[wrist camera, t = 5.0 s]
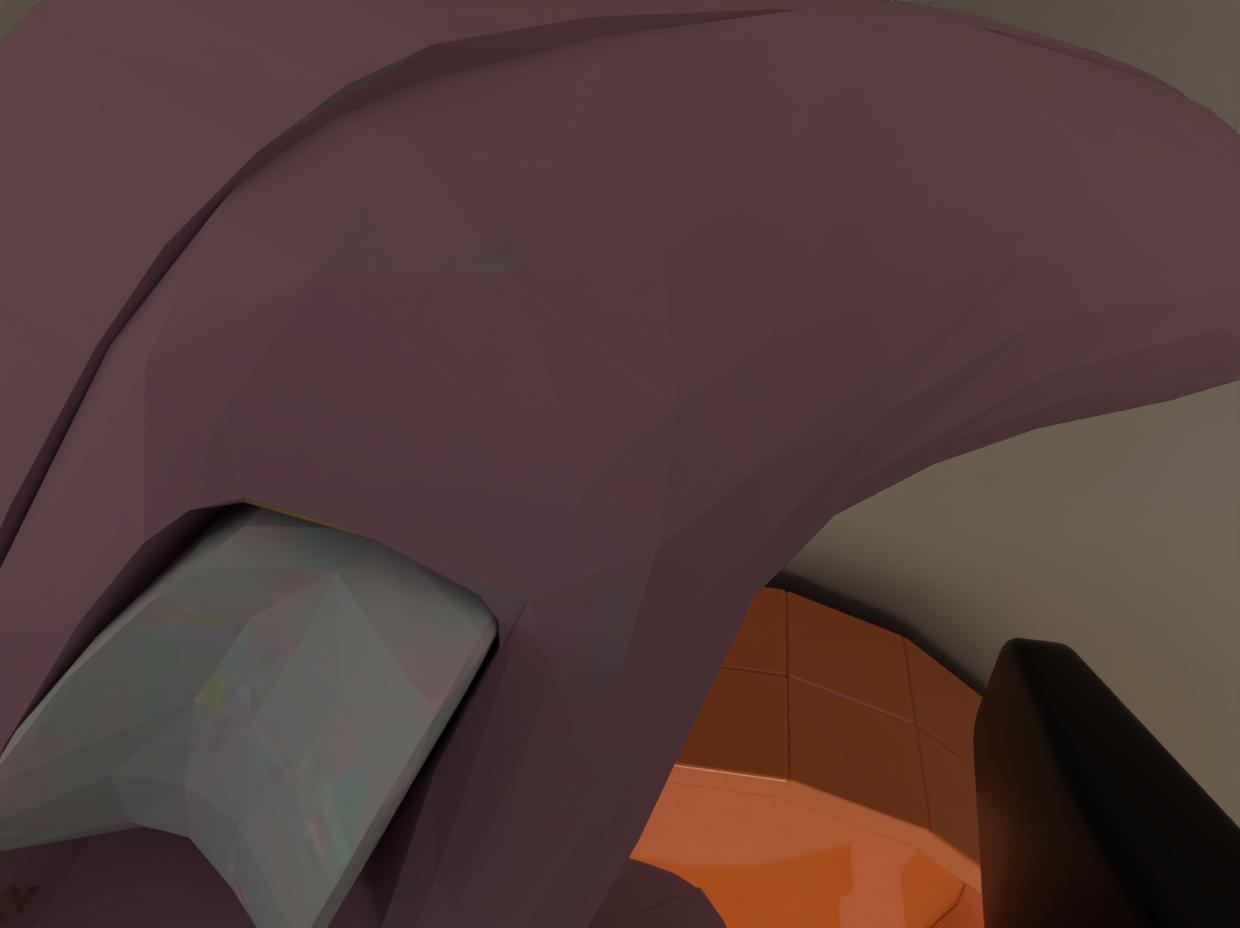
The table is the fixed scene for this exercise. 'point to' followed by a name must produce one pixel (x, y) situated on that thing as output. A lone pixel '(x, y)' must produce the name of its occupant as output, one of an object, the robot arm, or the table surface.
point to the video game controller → (506, 406)
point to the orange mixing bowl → (825, 780)
